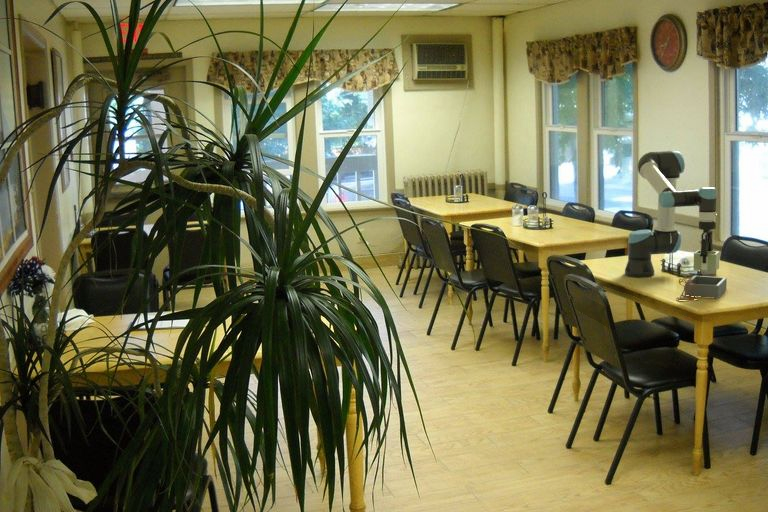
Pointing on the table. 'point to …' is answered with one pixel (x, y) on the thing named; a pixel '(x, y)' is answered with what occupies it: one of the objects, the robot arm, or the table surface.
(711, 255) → the block
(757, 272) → the table surface
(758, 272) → the table surface
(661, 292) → the table surface
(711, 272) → the medicine box
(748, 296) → the table surface
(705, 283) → the grey open rectangular box
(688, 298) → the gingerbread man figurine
